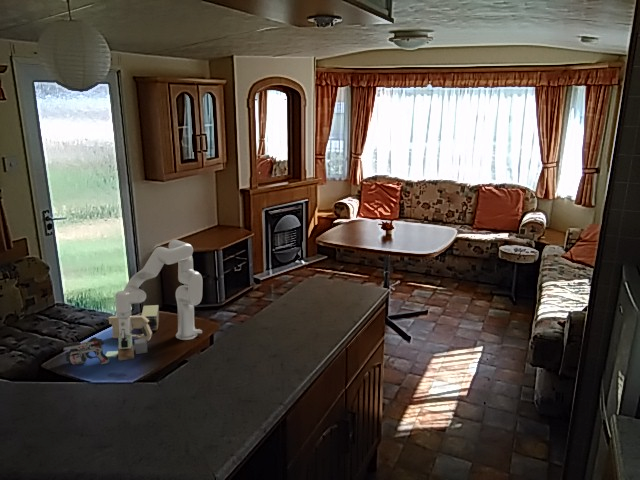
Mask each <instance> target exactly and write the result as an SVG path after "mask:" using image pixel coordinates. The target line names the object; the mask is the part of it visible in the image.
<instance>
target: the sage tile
mask: <svg viewBox="0 0 640 480" xmlns="http://www.w3.org/2000/svg"><path fill="white" fill-rule="evenodd" d="M104 355H105V356H107V357H108V358H116V357H118V350H113V351H112V350H111V351H106V353H105V354H104Z"/></svg>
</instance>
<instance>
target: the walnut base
mask: <svg viewBox="0 0 640 480" xmlns="http://www.w3.org/2000/svg"><path fill="white" fill-rule="evenodd" d="M117 351H118V355H117V357H118V358H117V360H118V361H123V360H124V361H125V360H133V359H135V346H134V344H132V346H131V348H125V349H119V345H118V346H117Z"/></svg>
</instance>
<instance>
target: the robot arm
mask: <svg viewBox="0 0 640 480" xmlns="http://www.w3.org/2000/svg"><path fill="white" fill-rule="evenodd" d="M193 253H194V248H193V246H192V244H190V243H188V242H184V241H181V240H178V239H173V240H171V241H169V243H168V247H164V246H157V247H156V248H155V249H154V250H153V251H152V254H151V255H150V256H149V258H148V260H147V261H146V263H145V265H144V266H143V267H142V269H141V270H139V271H138V272H136V273H135V274H134V275H132V276H131V278H130V279H129V280H128V282H127V283H126V285H125V287H124V290H120V291H119V290H118V291H117V292H116V293H115V296H114V297H115V310H116V311H115V312H116V314H115V316H117V318H119V334H120V336H121V347H122V348H126V347H128V340H127V335H128V336H129V335H130V334H131V333H132V332H131V319H130V317H131V316H132V305H133V304H135V305H136V304H141V303H144V302H145V301H146V299H147V293H146V292H145V291H144V290H143V289H142V288H141V289H140V287H141V285H142V284H143V283H144V282H145V281H149V280H151V279H155V278H156V277H157V276H158V275H159V273H160V272H161V270H162V268H163V267H164V265H174V264H176V263H178V267H177V268H178V269H177V272H178V273H177V274H178V275H177V279H178V282H179V283H181V284H183V285H179V286H178V287H177V288H176V290H175V300H176V304H177V305H176V306H177V332H176V334H175V338H176V339H178V340H182V341H189V340H193V339H195V338H196V337H197V336H198V334H203V330H202V329H201V328H198V329H197V328H196V326H195V306H197V305H199V304H200V303H201V302H202V299H203V287H204V286H203V284H204V283H203V277H202V274H201V273H200V272H199V271H197V270H194V258H193ZM130 332H131V333H130ZM124 334H126V335H124ZM124 336H126V338H125V337H124Z"/></svg>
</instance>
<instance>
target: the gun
mask: <svg viewBox="0 0 640 480" xmlns="http://www.w3.org/2000/svg"><path fill="white" fill-rule="evenodd" d="M141 315H142V314H141ZM141 315H131V317H130V319H131V332H130V334H132V331H133V330H134V329H138V331H140V330H142V331H141V333H139V334H138V333H137V334H132V339H133V338H136V339H144V338H145V339H146V341H147V342H149V341H150V340H151V338H152V336H153V330H151V329H150V327H149V325H148V322H149V320H148V319H147V318H146V317H145V316H143V315H142V316H141ZM108 323H109V325H111V327H112V329H111V330H112V336H111V339H118V338H119V336H120V334H119V318H117V315H115V316H114V315H113V316H109V317H108Z"/></svg>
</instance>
